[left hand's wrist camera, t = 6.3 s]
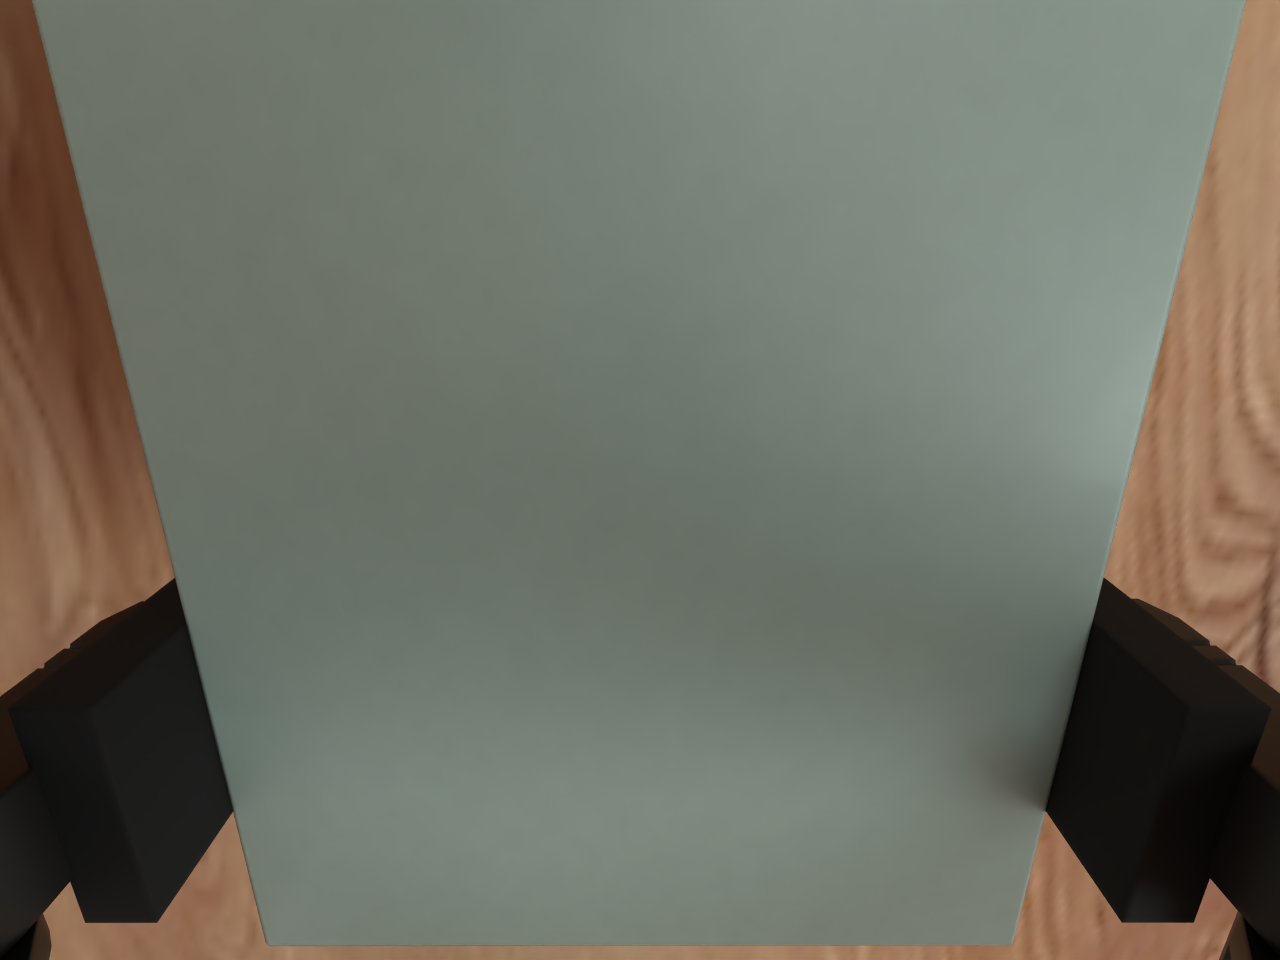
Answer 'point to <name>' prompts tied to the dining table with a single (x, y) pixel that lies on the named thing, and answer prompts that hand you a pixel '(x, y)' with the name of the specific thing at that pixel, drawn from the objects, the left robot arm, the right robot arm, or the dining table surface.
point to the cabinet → (639, 435)
